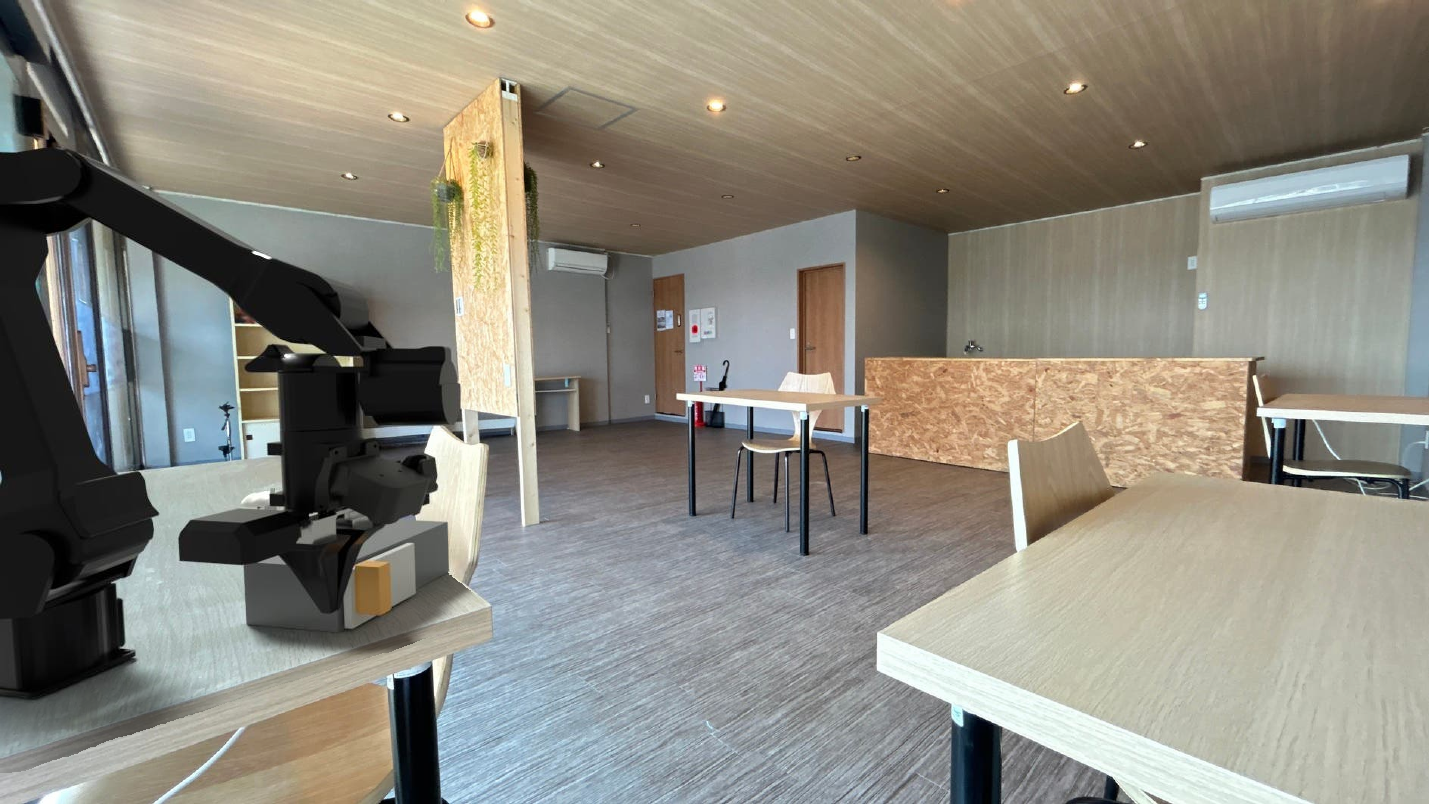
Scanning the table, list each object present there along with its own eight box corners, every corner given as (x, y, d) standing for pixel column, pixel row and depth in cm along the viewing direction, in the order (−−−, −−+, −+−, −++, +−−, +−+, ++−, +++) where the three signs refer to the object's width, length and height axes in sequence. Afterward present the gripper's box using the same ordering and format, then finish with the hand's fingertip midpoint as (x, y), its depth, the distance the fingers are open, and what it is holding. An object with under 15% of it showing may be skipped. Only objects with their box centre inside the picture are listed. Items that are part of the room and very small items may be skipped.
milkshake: (252, 576, 66) (248, 491, 66) (239, 566, 70) (235, 485, 69) (298, 565, 70) (295, 485, 69) (284, 557, 73) (280, 480, 73)
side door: (376, 630, 52) (374, 569, 51) (344, 628, 52) (342, 567, 52) (436, 594, 60) (435, 541, 60) (409, 592, 60) (407, 540, 60)
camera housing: (339, 632, 52) (336, 561, 52) (246, 624, 54) (243, 555, 53) (456, 568, 69) (454, 514, 69) (382, 563, 71) (380, 510, 70)
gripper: (306, 444, 37) (316, 680, 37) (477, 419, 55) (481, 578, 56) (166, 440, 39) (178, 664, 39) (375, 418, 57) (381, 571, 58)
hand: (330, 611), depth 48 cm, fingers closed
